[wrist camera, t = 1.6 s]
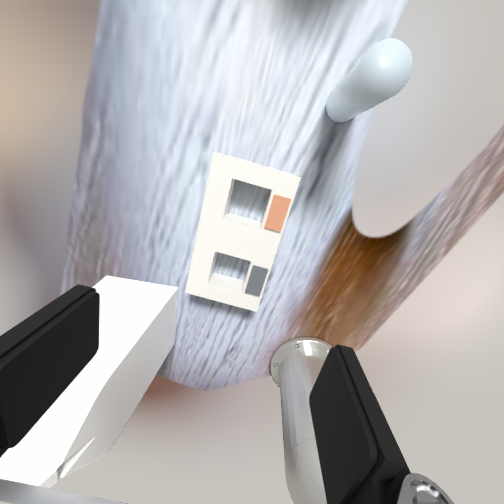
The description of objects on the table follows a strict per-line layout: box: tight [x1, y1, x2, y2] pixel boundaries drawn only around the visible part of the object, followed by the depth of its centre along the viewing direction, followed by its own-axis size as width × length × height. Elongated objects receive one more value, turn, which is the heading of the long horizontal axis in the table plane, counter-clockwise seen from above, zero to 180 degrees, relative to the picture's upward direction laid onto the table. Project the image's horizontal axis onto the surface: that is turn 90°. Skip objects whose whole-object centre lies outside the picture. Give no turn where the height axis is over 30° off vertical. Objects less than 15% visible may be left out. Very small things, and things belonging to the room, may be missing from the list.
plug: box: [326, 39, 413, 123], centre depth 25 cm, size 4×4×12 cm
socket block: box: [185, 152, 301, 312], centre depth 35 cm, size 20×11×4 cm, turn 165°
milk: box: [0, 276, 178, 488], centre depth 30 cm, size 12×12×26 cm
